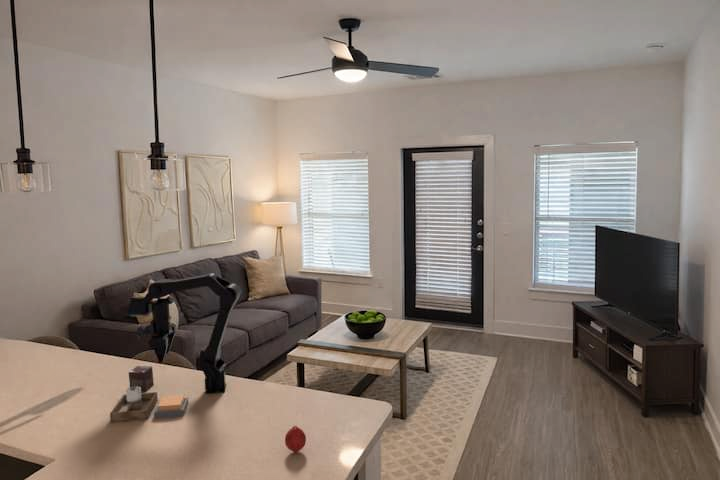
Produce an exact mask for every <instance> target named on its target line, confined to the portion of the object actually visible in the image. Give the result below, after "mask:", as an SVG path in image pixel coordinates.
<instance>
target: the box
mask: <svg viewBox="0 0 720 480" xmlns="http://www.w3.org/2000/svg"><path fill="white" fill-rule="evenodd" d="M153 374H154V373H153V366H143V365H142V366H140V365H139V366H138V365H137V366H135V367H134V368H133V369H132V370H130V371H128V380H129V381H128V382H129V388H130V387H133V386H137V387H141V392H143V393H147V391H148V390H149V389H151V388H152V387H153V386H154V375H153Z"/></svg>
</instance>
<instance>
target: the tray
mask: <svg viewBox="0 0 720 480" xmlns="http://www.w3.org/2000/svg"><path fill="white" fill-rule="evenodd" d="M141 398H142V410H138V411H128V408H127V395H126V393H124V394H123V395H122V396H121V397H120V399H118V401H117V403H116V404H115V406H114V407H113V408H112V410H111V411H110V413H109V415H110V416H109V417H110V423H121V422H124V423H125V422H133V421H146V420H148V419H149V418H150V416H151V414H152V412H153V409H154V408H155V407H156V404H157V403H158V391H153V392H152V391H151V392H141Z"/></svg>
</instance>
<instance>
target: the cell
mask: <svg viewBox="0 0 720 480" xmlns="http://www.w3.org/2000/svg"><path fill="white" fill-rule="evenodd" d="M141 393H142V391H141V387H137V386H133V387H130V386H129V387H128V388H127V389H126V390H125V394H126V395H127V408H128V411H138V410H142V398H141Z"/></svg>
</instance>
